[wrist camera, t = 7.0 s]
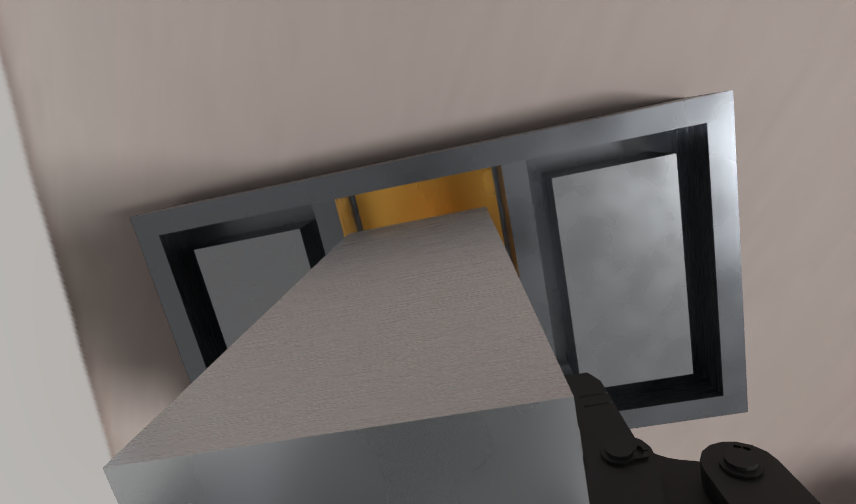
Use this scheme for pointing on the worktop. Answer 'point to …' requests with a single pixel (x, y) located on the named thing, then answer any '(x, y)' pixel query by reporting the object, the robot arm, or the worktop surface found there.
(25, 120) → the worktop surface
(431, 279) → the grey rectangular block
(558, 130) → the rack
